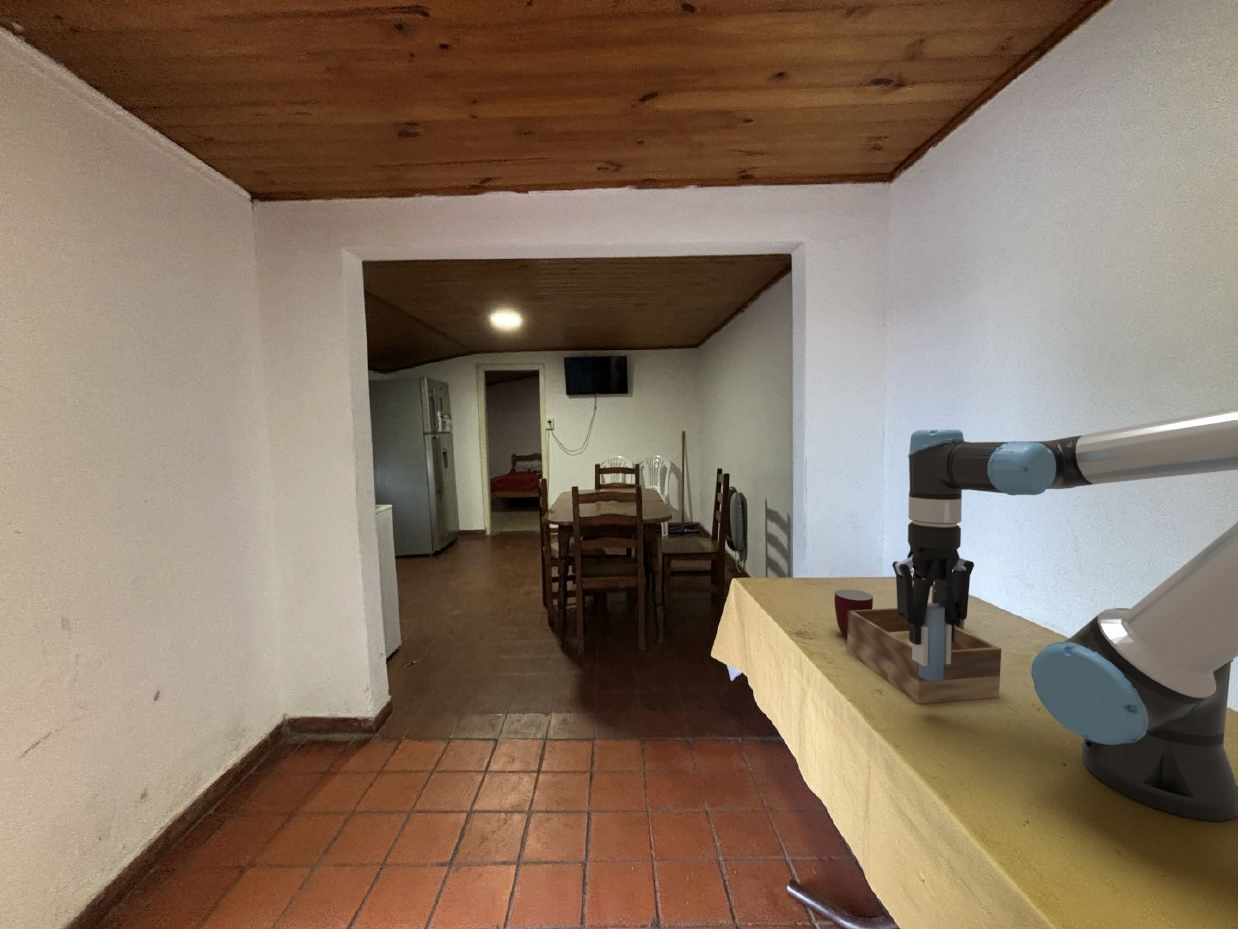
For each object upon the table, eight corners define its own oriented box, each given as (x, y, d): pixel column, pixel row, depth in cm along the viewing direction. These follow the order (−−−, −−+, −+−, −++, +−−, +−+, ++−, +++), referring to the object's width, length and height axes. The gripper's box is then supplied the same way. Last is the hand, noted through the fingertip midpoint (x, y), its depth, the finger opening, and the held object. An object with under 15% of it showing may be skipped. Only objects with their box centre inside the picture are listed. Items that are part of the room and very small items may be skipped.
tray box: (998, 697, 95) (1001, 648, 94) (918, 704, 93) (920, 654, 92) (913, 646, 117) (915, 607, 116) (846, 651, 114) (848, 610, 114)
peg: (948, 680, 87) (950, 609, 86) (928, 682, 86) (930, 610, 86) (932, 671, 90) (933, 602, 90) (913, 672, 90) (914, 603, 89)
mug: (872, 650, 115) (874, 605, 114) (832, 644, 118) (834, 600, 117) (870, 633, 124) (872, 591, 123) (833, 628, 127) (835, 587, 127)
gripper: (961, 518, 92) (958, 649, 93) (873, 521, 90) (871, 655, 91) (997, 524, 85) (994, 667, 86) (903, 528, 82) (901, 675, 83)
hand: (931, 661), depth 88 cm, fingers closed on peg, 3 cm apart
